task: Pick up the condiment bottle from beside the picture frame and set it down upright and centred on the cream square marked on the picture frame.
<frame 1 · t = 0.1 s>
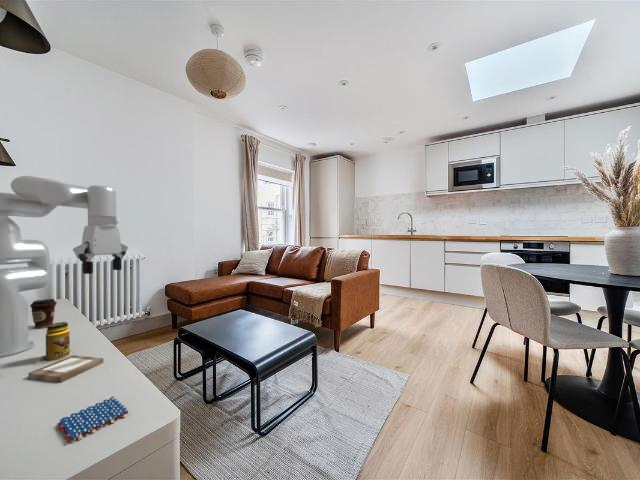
hand: (103, 271, 88), 31 cm above the table, tool pointing down, fingers open, 9 cm apart
condiment: (54, 358, 91), on the table
coffee cup: (43, 327, 123), on the table
picture frame: (68, 369, 82), on the table
woven mat: (93, 423, 59), on the table
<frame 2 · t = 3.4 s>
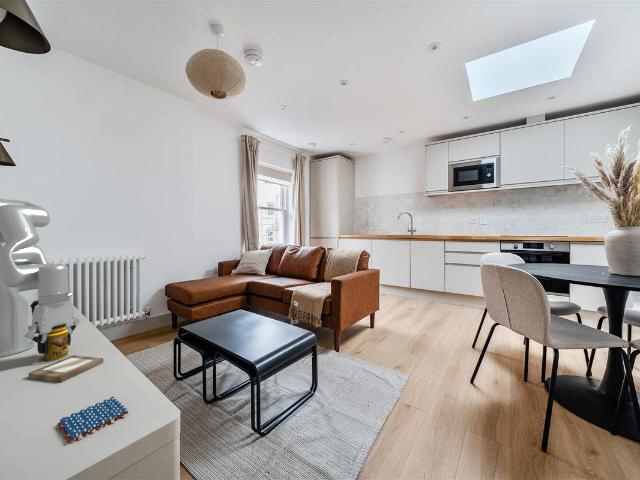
hand: (55, 348, 91), 3 cm above the table, tool pointing down, fingers closed on condiment, 6 cm apart
condiment: (53, 358, 91), on the table, touching gripper
everything else where it was.
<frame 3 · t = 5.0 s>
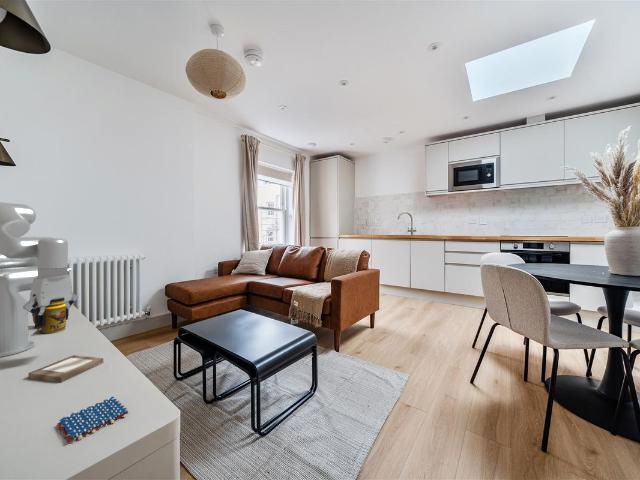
hand: (52, 322, 91), 13 cm above the table, tool pointing down, fingers closed on condiment, 6 cm apart
condiment: (50, 332, 91), point 9 cm above the table, touching gripper
everything else where it was.
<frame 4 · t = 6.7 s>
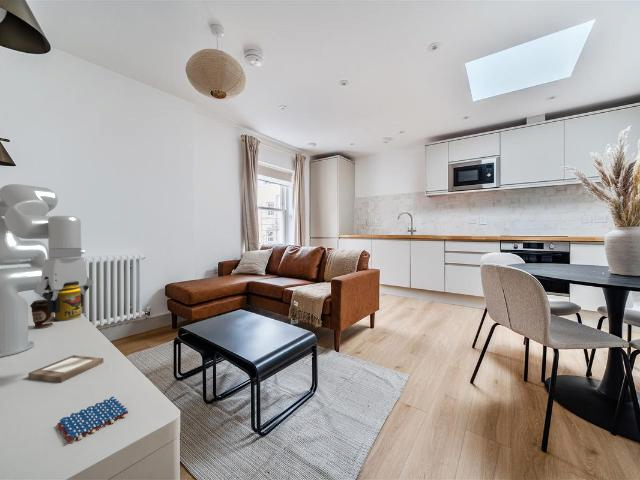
hand: (66, 308, 82), 20 cm above the table, tool pointing down, fingers closed on condiment, 6 cm apart
condiment: (64, 319, 82), point 16 cm above the table, touching gripper
everything else where it was.
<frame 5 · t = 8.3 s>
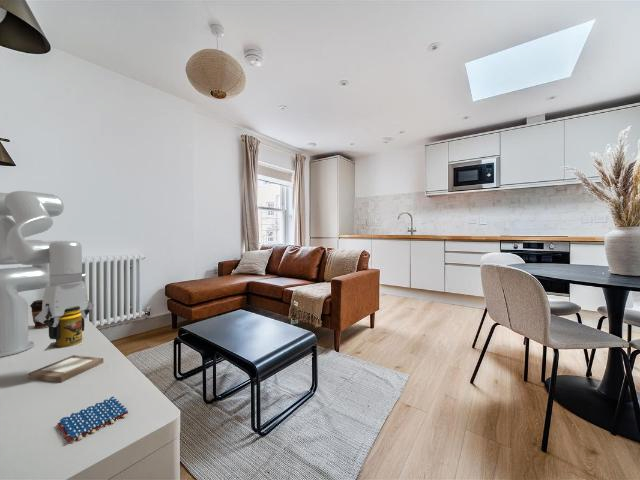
hand: (67, 334, 82), 12 cm above the table, tool pointing down, fingers closed on condiment, 6 cm apart
condiment: (65, 345, 82), point 8 cm above the table, touching gripper
everything else where it was.
when the fingers open (5 cm above the table, at t = 9.9 s): condiment stays where it is, resting on picture frame.
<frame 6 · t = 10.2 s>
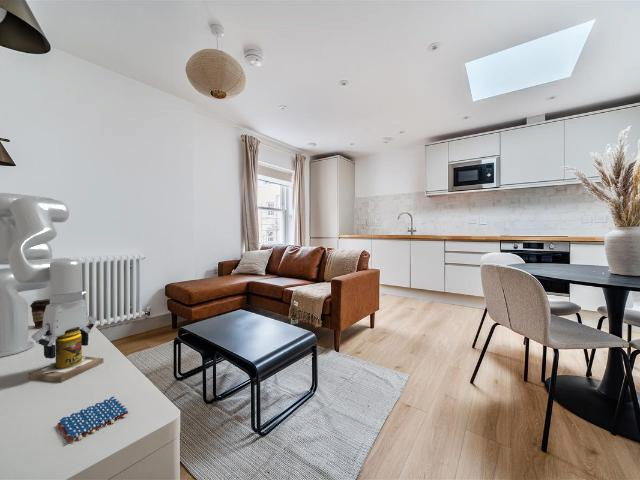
hand: (67, 351, 82), 6 cm above the table, tool pointing down, fingers open, 8 cm apart
condiment: (65, 366, 82), point 1 cm above the table, touching picture frame
everything else where it was.
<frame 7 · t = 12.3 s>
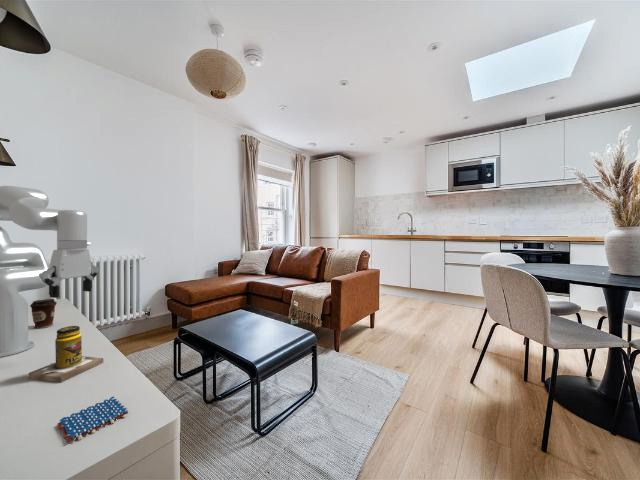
hand: (71, 294, 89), 23 cm above the table, tool pointing down, fingers open, 9 cm apart
nothing on the table moved.
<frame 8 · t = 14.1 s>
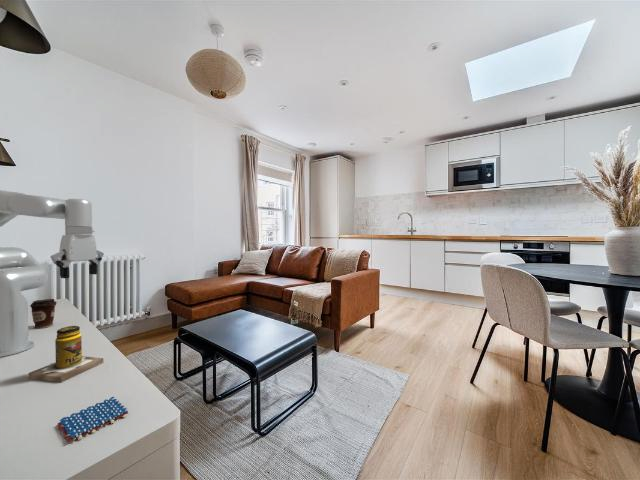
hand: (79, 276, 97), 28 cm above the table, tool pointing down, fingers open, 9 cm apart
nothing on the table moved.
at the end: condiment 0.6 cm off-centre on the picture frame, point 1.5 cm above the picture frame's base; condiment tilted 0°; the gripper is holding nothing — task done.
